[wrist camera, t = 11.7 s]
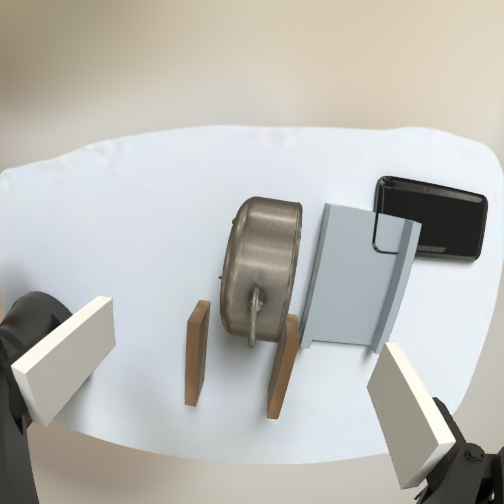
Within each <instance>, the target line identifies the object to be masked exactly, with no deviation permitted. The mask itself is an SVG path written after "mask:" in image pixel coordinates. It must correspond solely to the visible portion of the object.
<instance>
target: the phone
mask: <svg viewBox="0 0 504 504" xmlns="http://www.w3.org/2000/svg"><path fill="white" fill-rule="evenodd" d="M487 211H488V201H487V198H486V197H485V196H484V195H481V194H477V193H472V192H468V191H464V190H460V189H455V188H451V187H446V186H441V185H437V184H432V183H427V182H421V181H416V180H411V179H405V178H399V177H393V176H383V177H381V178H380V179H379V180H378V182H377V185H376V195H375V205H374V212H375V213H376V216H375V224H374V232H373V239H372V245H373V248H374V249H375V250H376V251H377V252H379V253H386V254H398V252H387V251H381V250H379V249H378V248H377V246H376V243H375V239H376V232H377V224H378V216H379V213H380V214H385V215H389V216H394V217H398V218H403V219H407V220H412V221H415V222H418V223H420V224H422V225H421V230H420V235H419V239H418V244H417V248H416V252H415V256H421V257H433V258H444V259H455V260H466V261H475V260H477V259H478V258H479V256H480V254H481V249H482V244H483V238H484V232H485V226H486V219H487Z"/></svg>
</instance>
